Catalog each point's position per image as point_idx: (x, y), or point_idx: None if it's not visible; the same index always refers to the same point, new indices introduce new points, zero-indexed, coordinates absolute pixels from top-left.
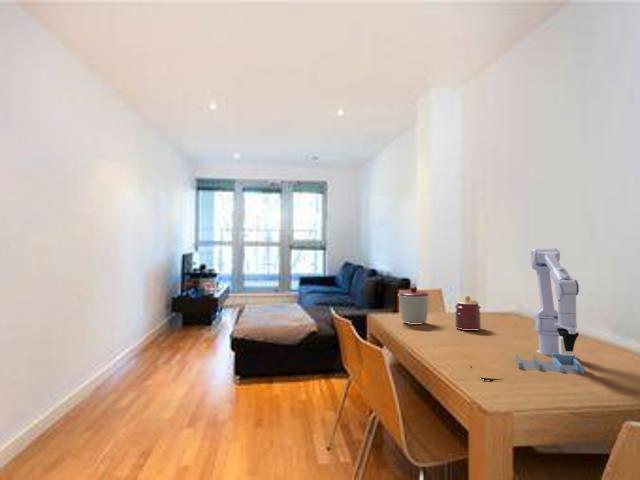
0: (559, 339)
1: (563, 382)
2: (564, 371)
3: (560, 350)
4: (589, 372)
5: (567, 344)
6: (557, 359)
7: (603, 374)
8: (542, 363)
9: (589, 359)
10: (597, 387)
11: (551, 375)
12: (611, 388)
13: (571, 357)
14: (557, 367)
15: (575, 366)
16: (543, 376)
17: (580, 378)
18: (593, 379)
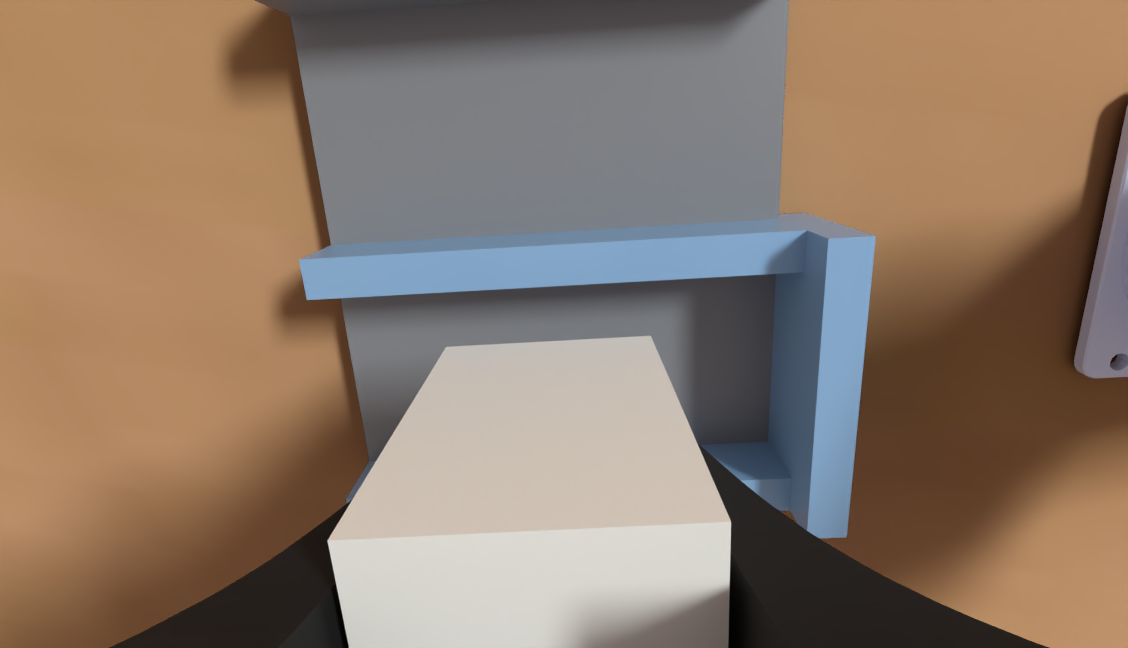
0: (558, 483)
1: (23, 234)
2: (371, 302)
3: (502, 368)
4: None
5: None
6: (792, 289)
7: None
8: (670, 63)
9: (1065, 628)
10: (51, 516)
11: (238, 132)
12: (93, 612)
13: (794, 475)
14: (458, 240)
15: None
16: (139, 21)
17: (277, 426)
18: (302, 531)
